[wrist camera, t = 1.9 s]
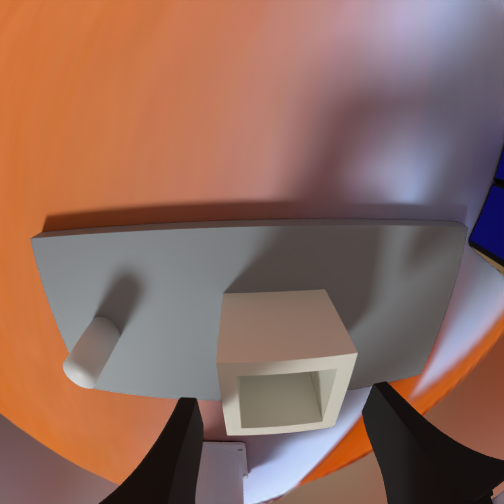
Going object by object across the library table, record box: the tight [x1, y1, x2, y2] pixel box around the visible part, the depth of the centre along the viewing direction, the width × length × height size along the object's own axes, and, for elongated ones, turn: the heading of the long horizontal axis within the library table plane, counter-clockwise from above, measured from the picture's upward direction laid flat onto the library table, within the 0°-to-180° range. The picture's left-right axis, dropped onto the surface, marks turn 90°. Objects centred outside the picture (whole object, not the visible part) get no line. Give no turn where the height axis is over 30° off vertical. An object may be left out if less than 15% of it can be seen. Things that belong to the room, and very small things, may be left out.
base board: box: [30, 219, 468, 400], centre depth 14 cm, size 12×26×5 cm, turn 91°
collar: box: [216, 289, 358, 435], centre depth 13 cm, size 5×5×5 cm
